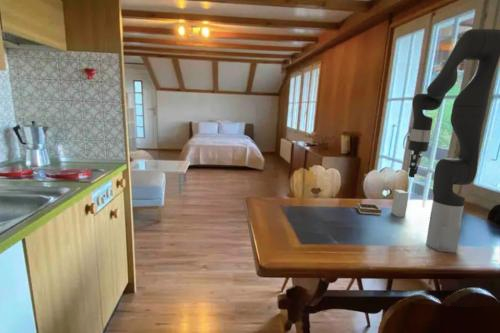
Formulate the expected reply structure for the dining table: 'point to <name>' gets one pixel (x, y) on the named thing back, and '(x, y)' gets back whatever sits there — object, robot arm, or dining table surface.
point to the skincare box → (399, 203)
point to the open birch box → (368, 209)
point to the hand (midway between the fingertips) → (412, 175)
